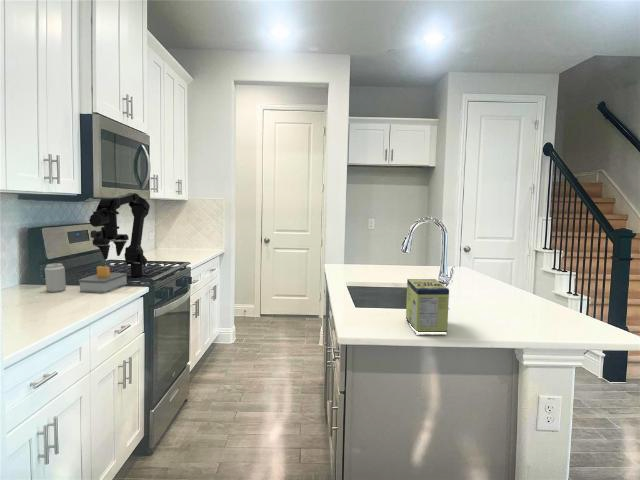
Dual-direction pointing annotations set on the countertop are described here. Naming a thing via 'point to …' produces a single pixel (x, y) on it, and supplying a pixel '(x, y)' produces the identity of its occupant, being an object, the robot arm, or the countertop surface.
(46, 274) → the can
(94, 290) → the tub
